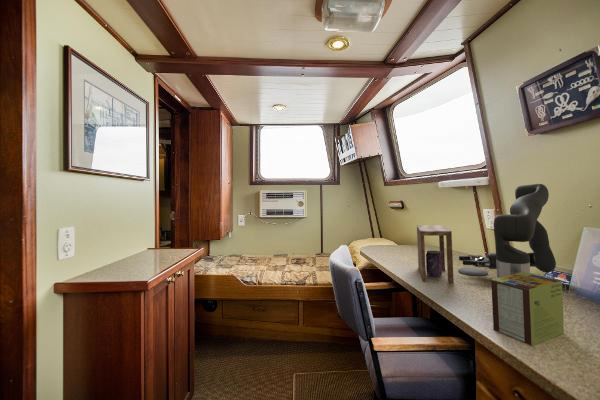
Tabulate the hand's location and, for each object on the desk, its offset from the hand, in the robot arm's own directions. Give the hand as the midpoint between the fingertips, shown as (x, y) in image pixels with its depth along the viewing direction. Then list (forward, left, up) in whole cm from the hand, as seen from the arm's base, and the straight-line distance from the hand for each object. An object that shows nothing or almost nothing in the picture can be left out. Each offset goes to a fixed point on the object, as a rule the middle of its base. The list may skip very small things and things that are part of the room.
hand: (460, 260), depth 136 cm
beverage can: (+12, +3, -8) cm, 15 cm away
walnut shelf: (+12, +3, -8) cm, 14 cm away
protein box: (-20, +52, -8) cm, 57 cm away
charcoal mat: (-4, -10, -8) cm, 13 cm away
